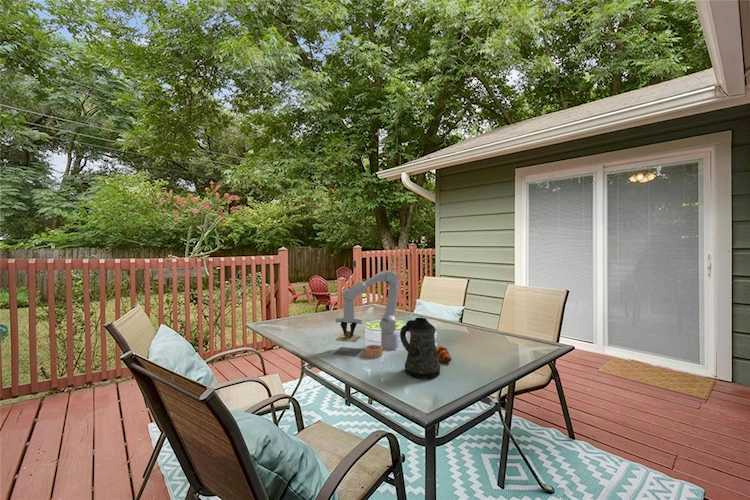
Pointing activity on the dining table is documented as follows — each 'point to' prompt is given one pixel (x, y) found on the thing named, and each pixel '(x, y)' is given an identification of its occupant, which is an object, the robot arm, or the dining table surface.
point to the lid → (348, 337)
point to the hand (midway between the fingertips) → (348, 336)
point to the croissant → (443, 354)
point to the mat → (347, 351)
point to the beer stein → (420, 349)
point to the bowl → (373, 351)
